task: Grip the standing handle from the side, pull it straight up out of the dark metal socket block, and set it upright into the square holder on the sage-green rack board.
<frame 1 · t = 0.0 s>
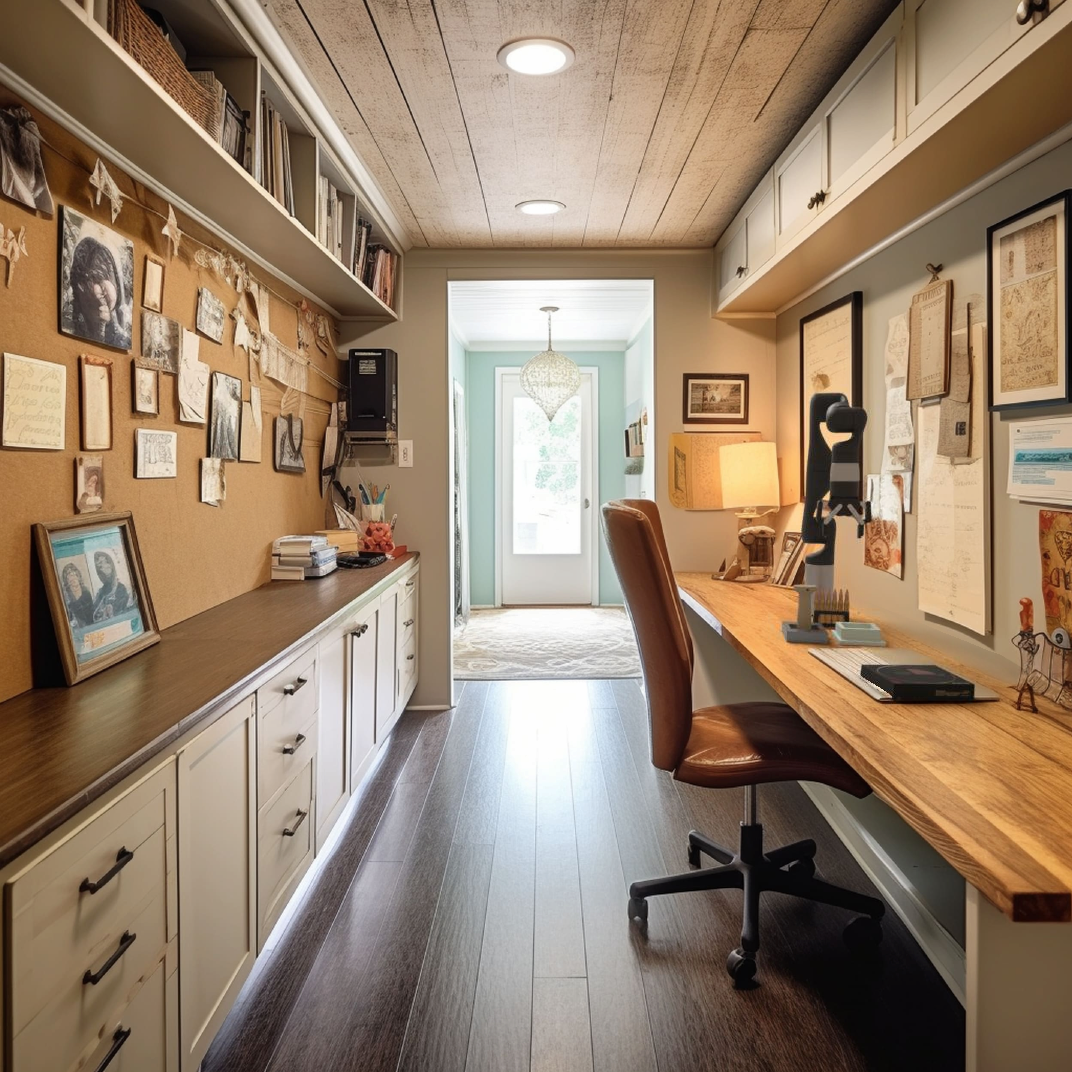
hand: (842, 538, 212), 29 cm above the table, tool pointing down, fingers open, 8 cm apart
socket block: (803, 637, 220), on the table
ammunition clip: (830, 627, 236), on the table
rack: (857, 639, 217), on the table
handle: (803, 637, 220), resting in socket block
portable cd player: (913, 692, 165), on the table
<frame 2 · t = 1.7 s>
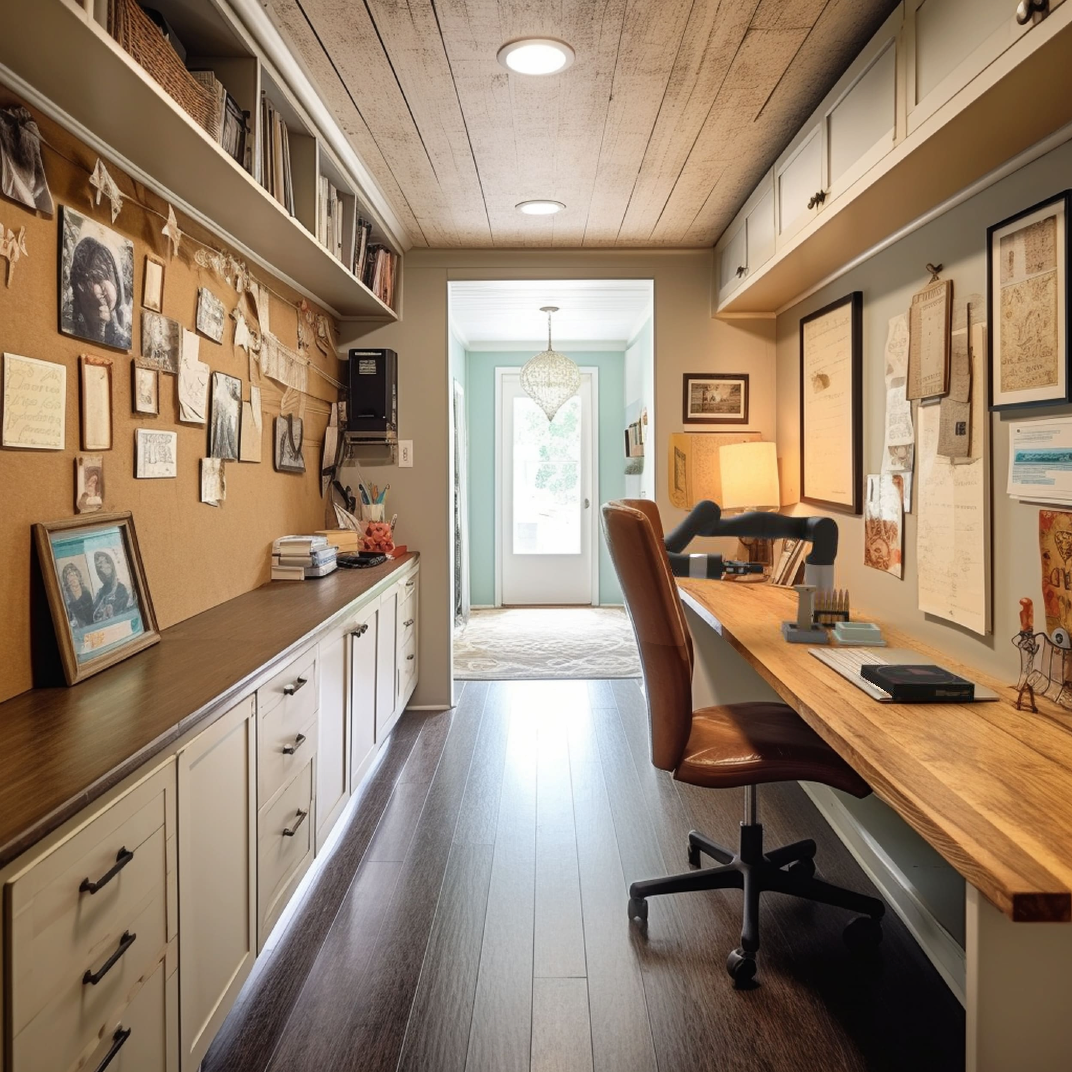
hand: (762, 568, 221), 20 cm above the table, tool horizontal, fingers open, 8 cm apart
nothing on the table moved.
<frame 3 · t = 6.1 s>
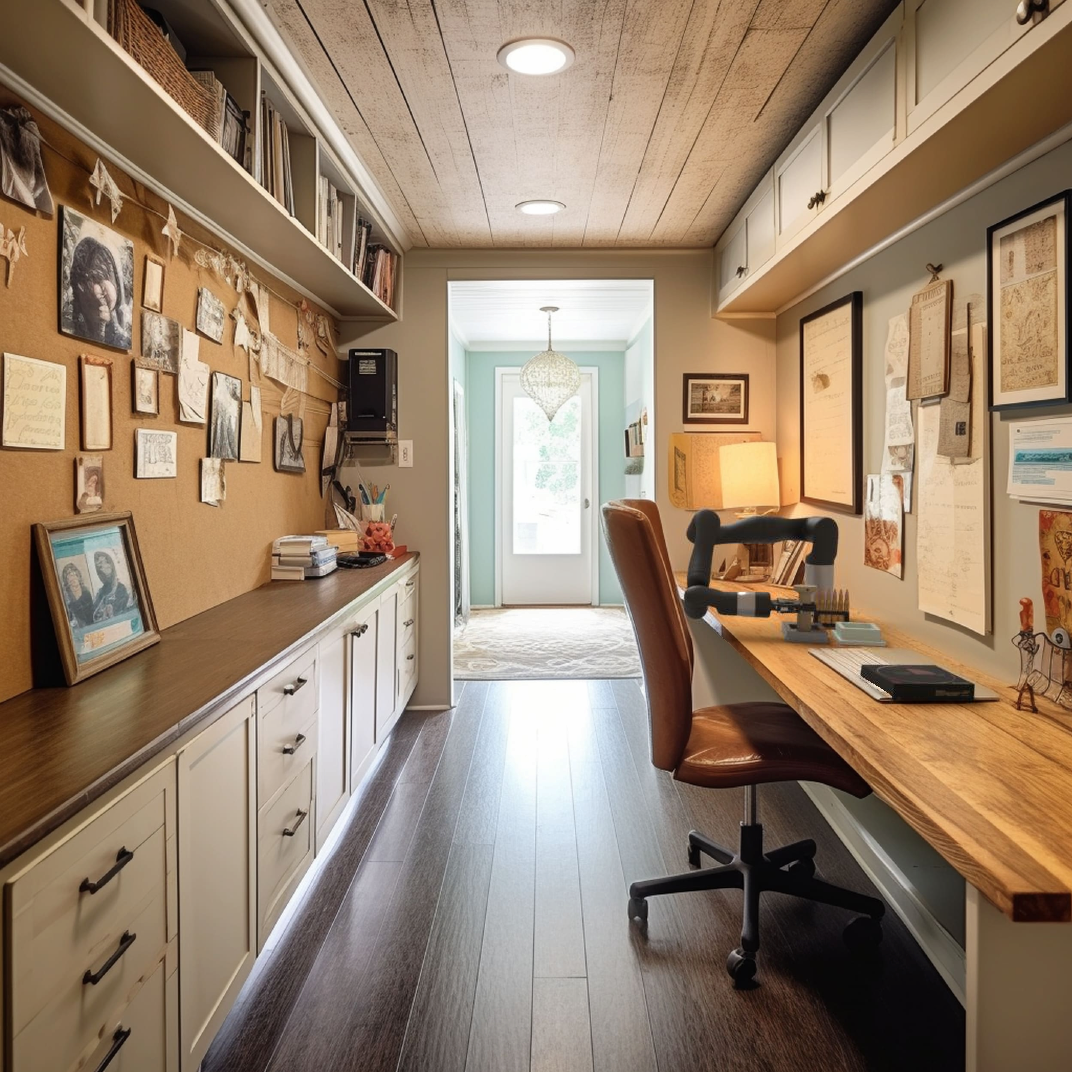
hand: (814, 606, 219), 9 cm above the table, tool horizontal, fingers closed on handle, 3 cm apart
handle: (803, 637, 220), resting in socket block, touching gripper
everything else where it was.
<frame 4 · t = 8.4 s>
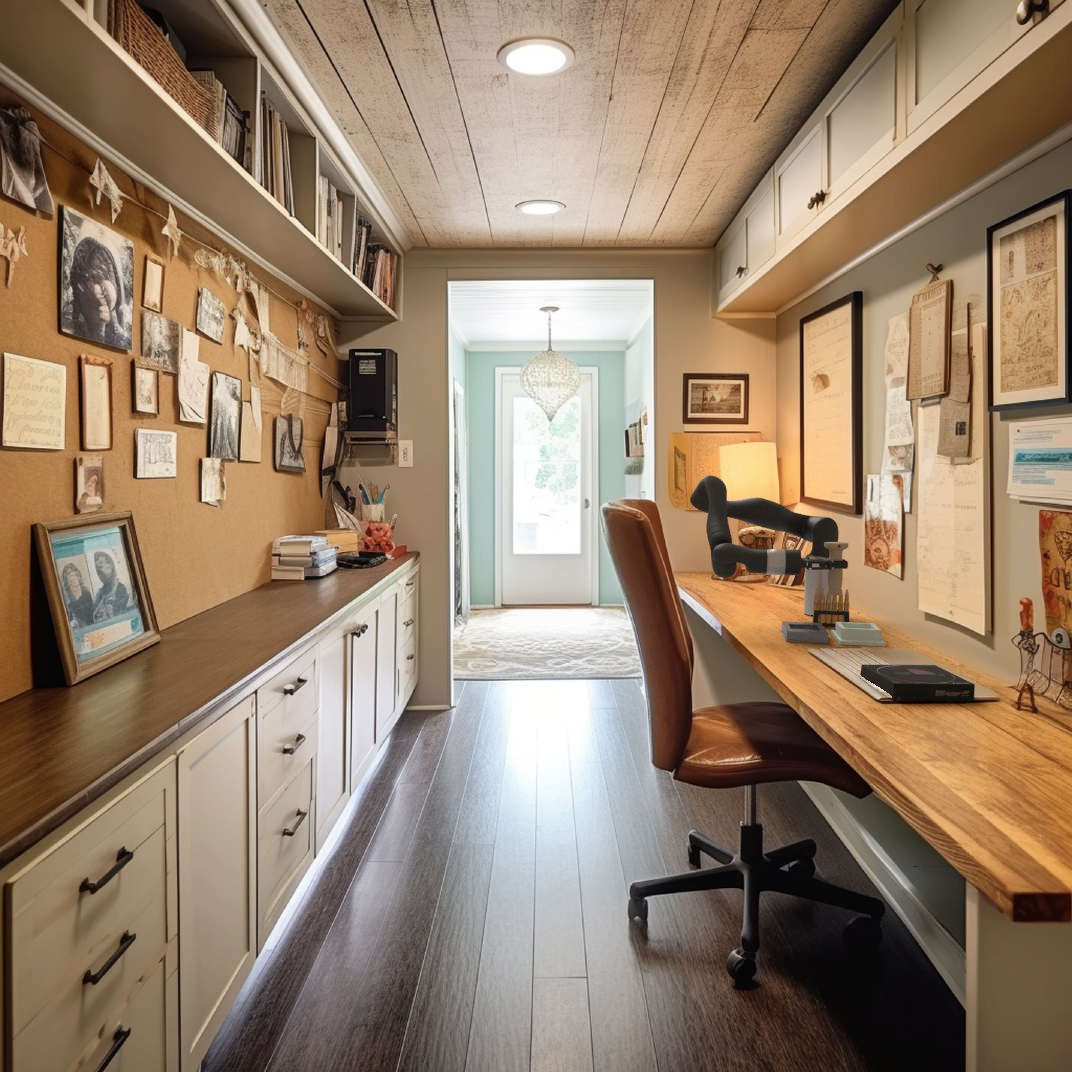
hand: (846, 563, 216), 22 cm above the table, tool horizontal, fingers closed on handle, 3 cm apart
handle: (834, 595, 217), point 12 cm above the table, touching gripper
everything else where it was.
when the fingers open (11 cm above the table, at t = 11.2 s): handle stays where it is, resting on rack.
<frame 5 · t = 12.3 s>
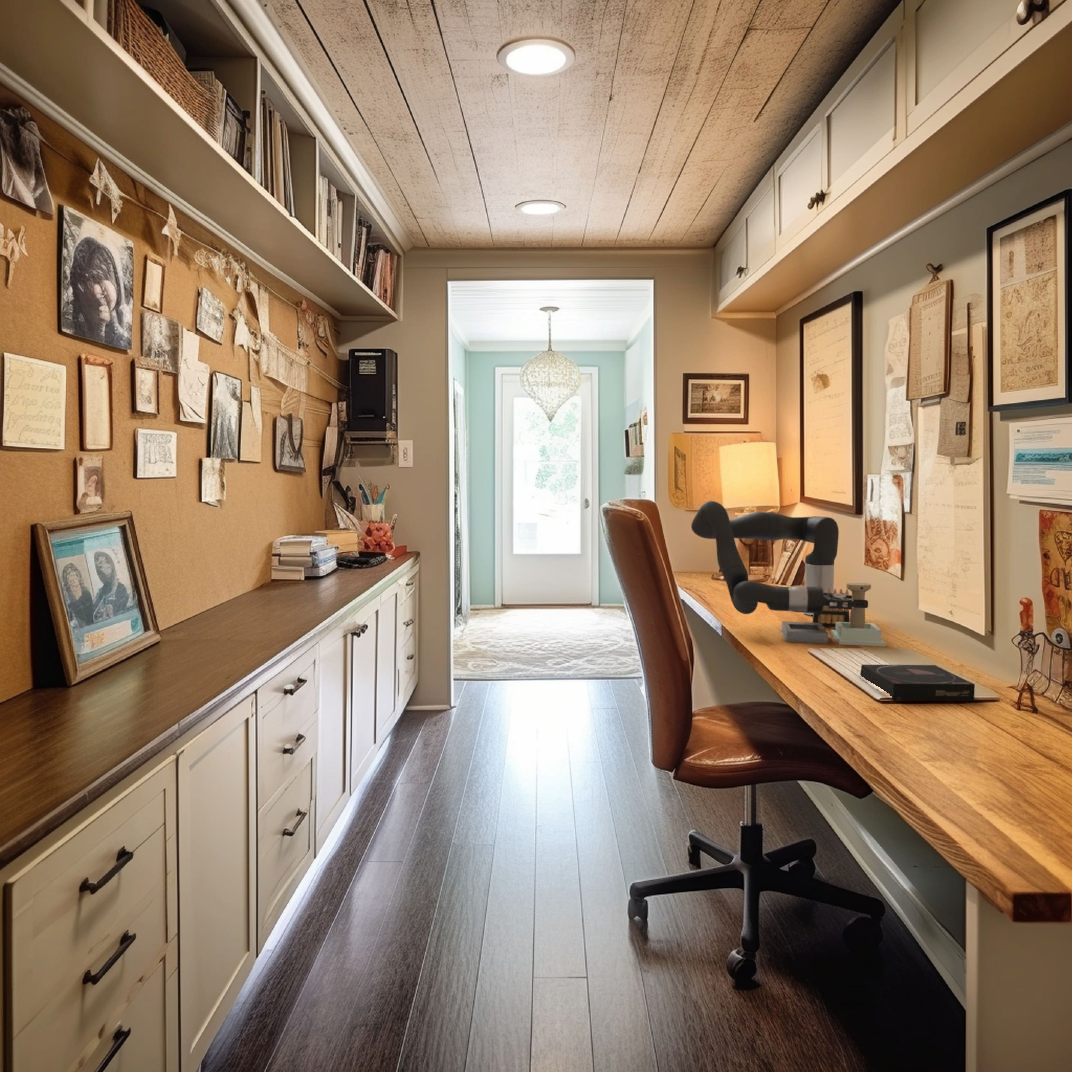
hand: (864, 601, 216), 11 cm above the table, tool horizontal, fingers open, 8 cm apart
handle: (856, 636, 217), point 1 cm above the table, touching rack
everything else where it was.
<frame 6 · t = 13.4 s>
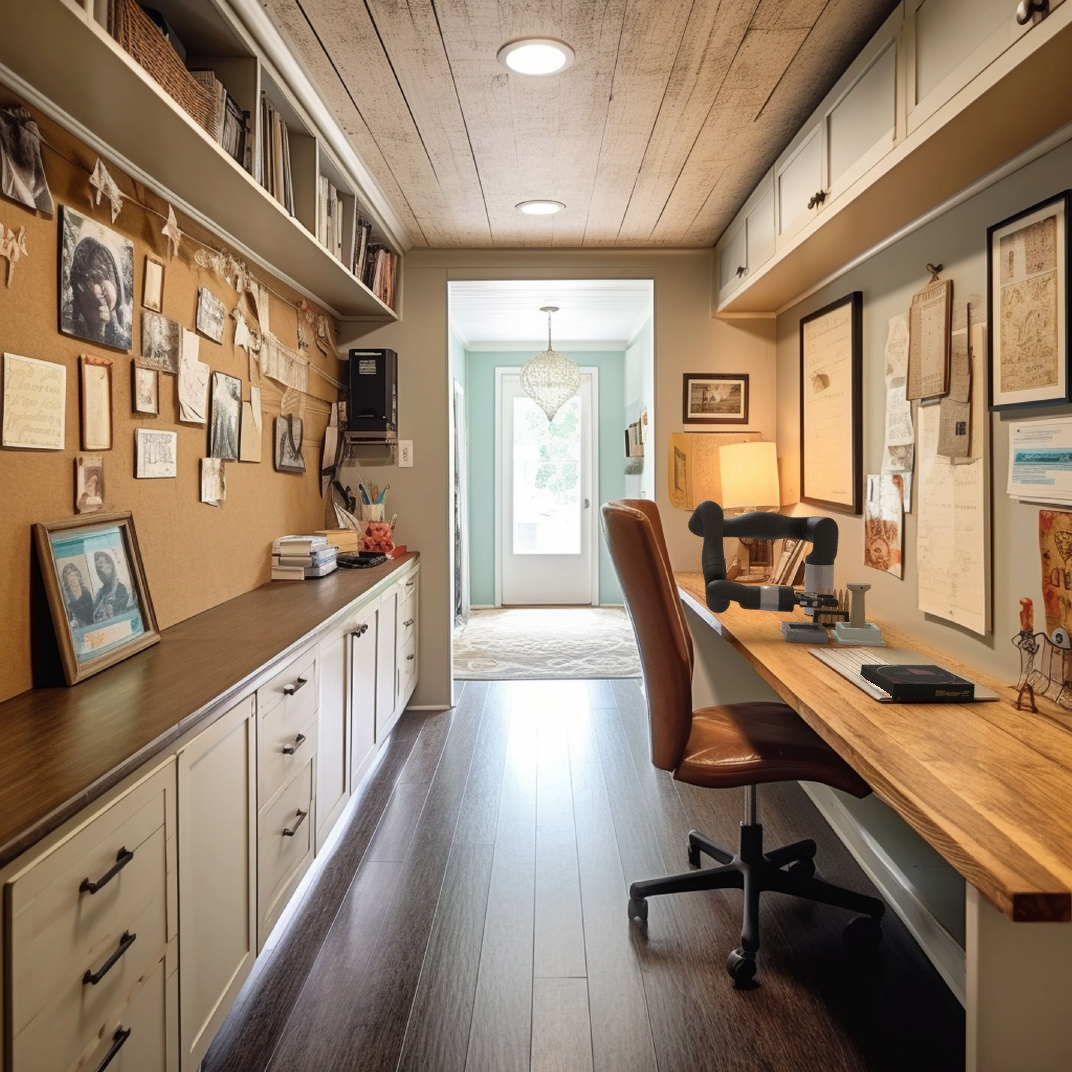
hand: (835, 600, 217), 11 cm above the table, tool horizontal, fingers open, 8 cm apart
nothing on the table moved.
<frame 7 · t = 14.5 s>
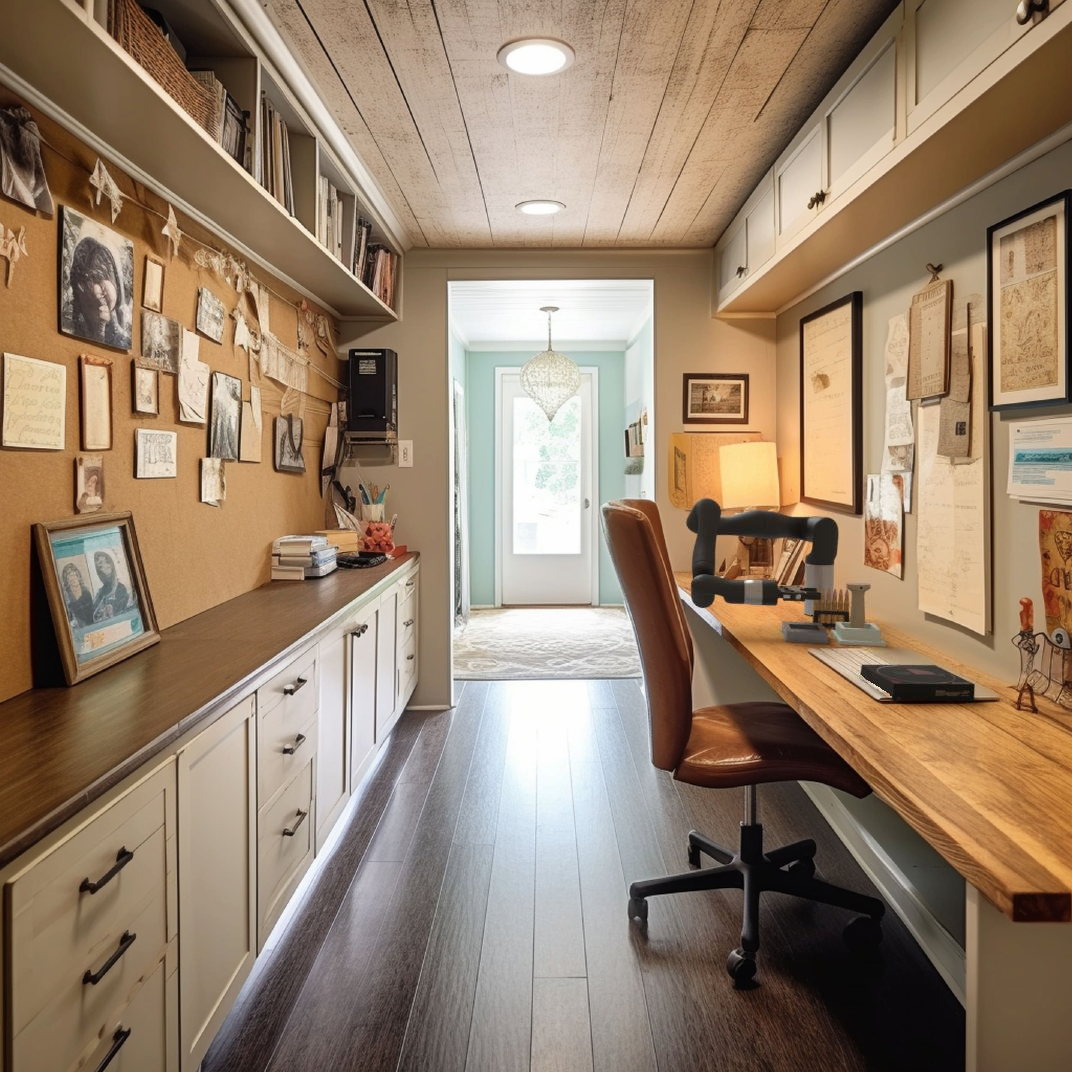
hand: (818, 593, 219), 13 cm above the table, tool horizontal, fingers open, 8 cm apart
nothing on the table moved.
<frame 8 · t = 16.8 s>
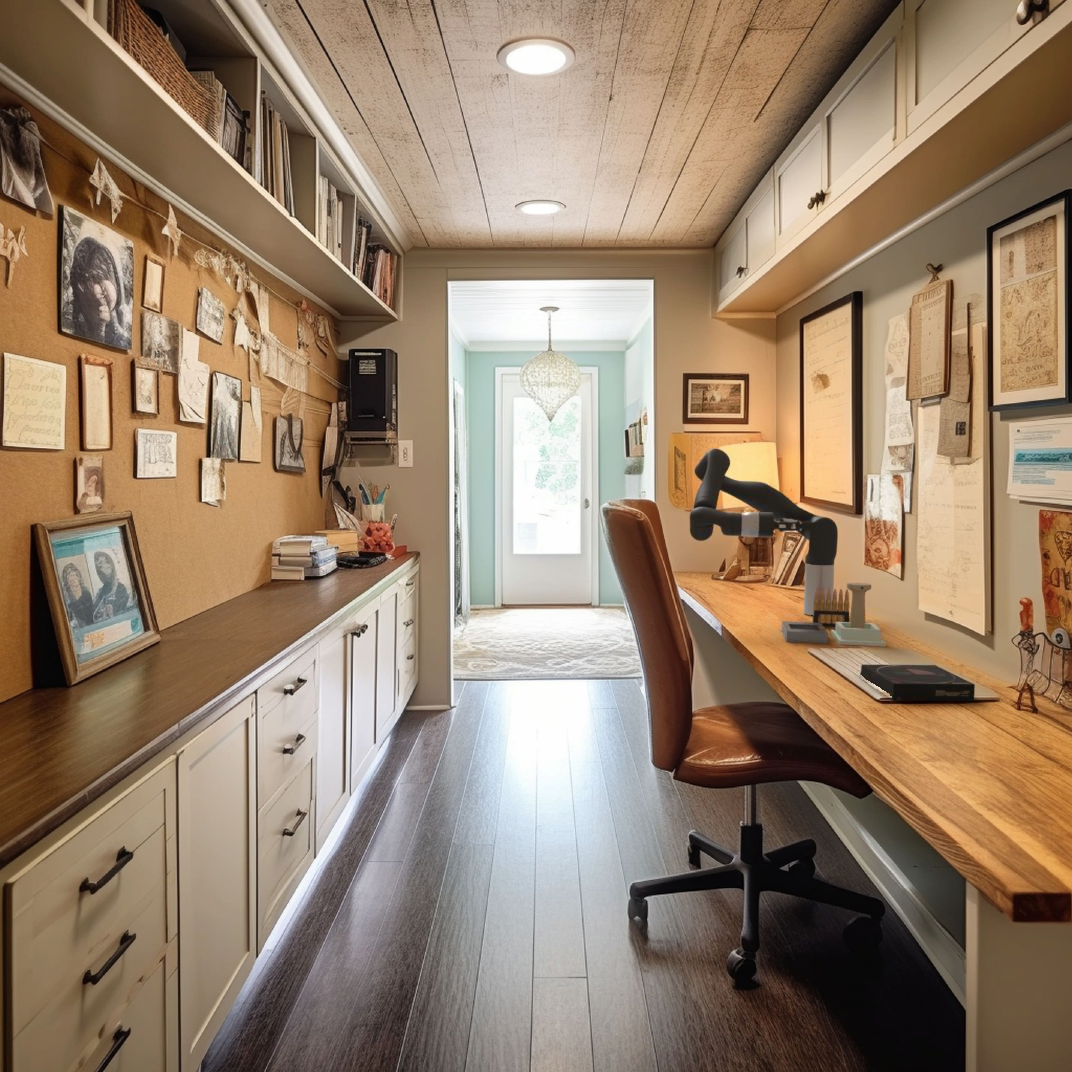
hand: (813, 525, 226), 32 cm above the table, tool horizontal, fingers open, 8 cm apart
nothing on the table moved.
at the end: handle 0.1 cm off-centre on the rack, point 0.8 cm above the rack's base; handle tilted 0°; the gripper is holding nothing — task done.
